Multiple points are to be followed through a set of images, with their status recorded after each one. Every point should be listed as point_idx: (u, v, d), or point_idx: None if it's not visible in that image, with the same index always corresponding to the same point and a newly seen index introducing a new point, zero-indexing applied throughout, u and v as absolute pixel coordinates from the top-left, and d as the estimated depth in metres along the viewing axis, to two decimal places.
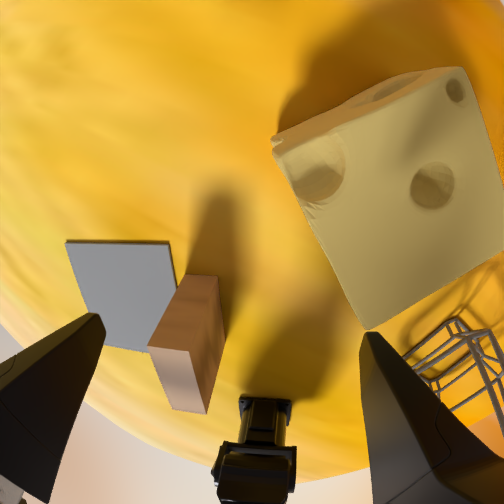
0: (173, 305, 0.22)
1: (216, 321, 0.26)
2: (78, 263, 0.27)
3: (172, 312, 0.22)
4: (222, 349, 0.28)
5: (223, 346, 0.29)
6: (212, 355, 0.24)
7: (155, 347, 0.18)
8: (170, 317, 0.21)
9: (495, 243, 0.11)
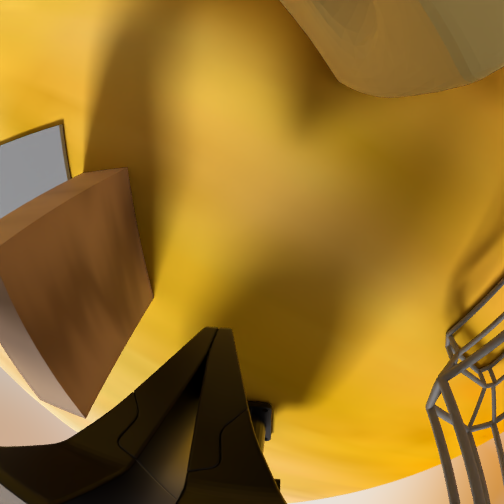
0: (35, 200, 0.10)
1: (119, 246, 0.14)
2: None
3: (24, 207, 0.09)
4: (143, 308, 0.16)
5: (146, 303, 0.17)
6: (103, 306, 0.12)
7: None
8: (16, 213, 0.09)
9: None
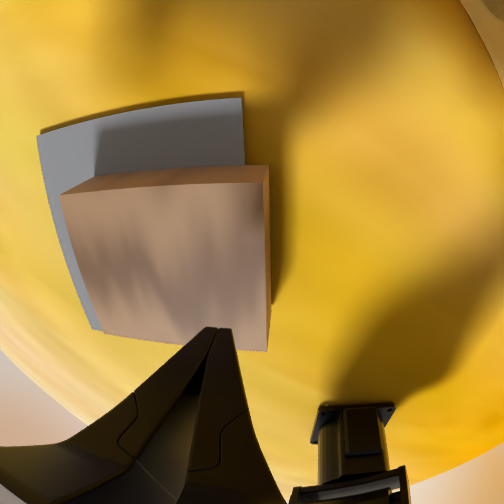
0: (168, 170, 0.13)
1: (210, 267, 0.12)
2: (54, 169, 0.14)
3: (148, 173, 0.13)
4: (235, 345, 0.14)
5: (244, 346, 0.14)
6: (161, 298, 0.13)
7: (87, 180, 0.13)
8: (137, 174, 0.13)
9: None
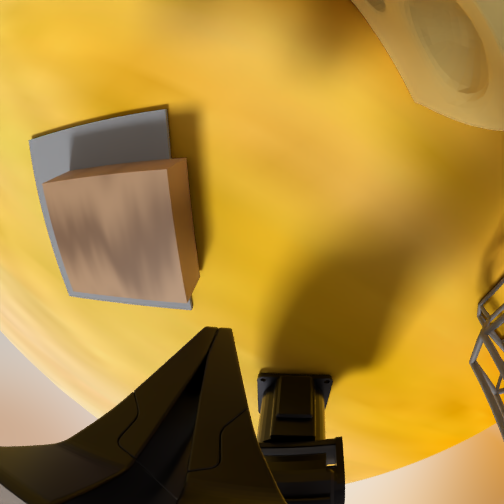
0: (117, 165, 0.17)
1: (139, 232, 0.16)
2: (42, 166, 0.18)
3: (104, 167, 0.17)
4: (163, 297, 0.18)
5: (170, 298, 0.18)
6: (109, 257, 0.17)
7: (64, 173, 0.17)
8: (97, 168, 0.17)
9: None
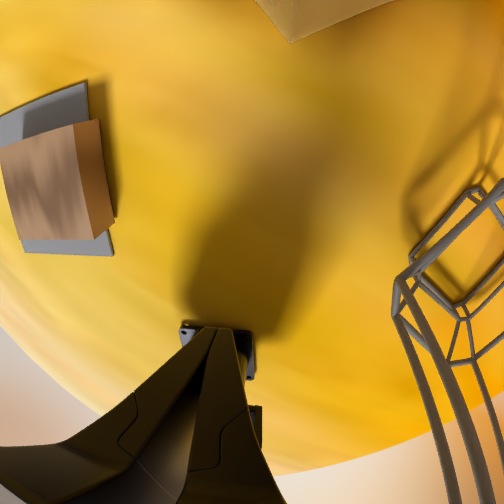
0: None
1: (57, 178, 0.17)
2: (4, 139, 0.18)
3: None
4: (77, 235, 0.19)
5: (82, 235, 0.19)
6: (40, 204, 0.18)
7: None
8: None
9: None
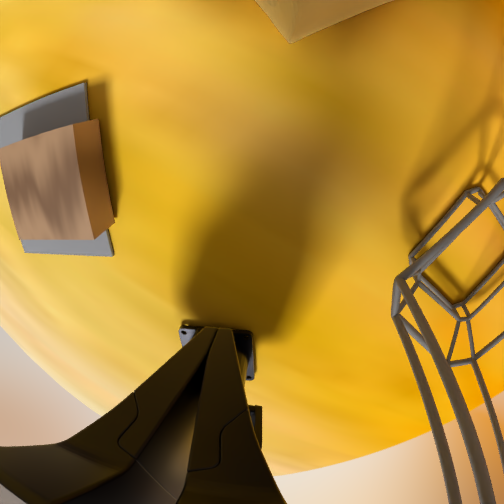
0: None
1: (57, 178, 0.17)
2: (4, 139, 0.18)
3: None
4: (77, 235, 0.19)
5: (82, 235, 0.19)
6: (40, 204, 0.18)
7: None
8: None
9: None
